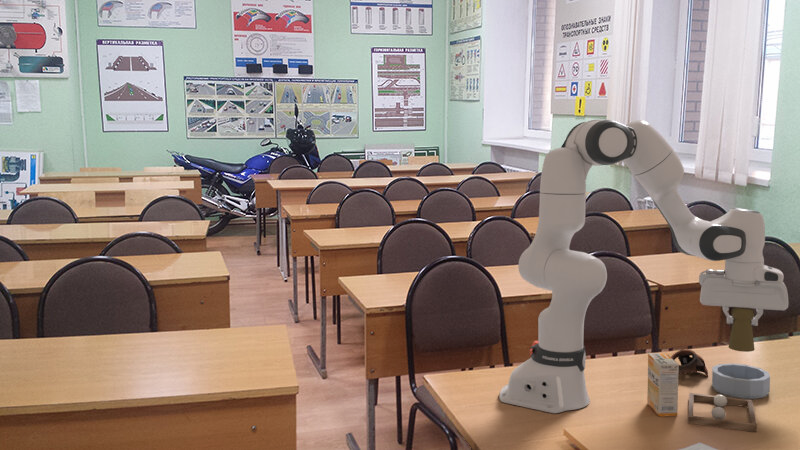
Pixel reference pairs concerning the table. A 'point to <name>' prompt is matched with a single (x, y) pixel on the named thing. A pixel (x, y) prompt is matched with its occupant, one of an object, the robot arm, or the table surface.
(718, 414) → the pebble
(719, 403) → the pebble
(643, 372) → the table surface
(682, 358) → the pottery mug
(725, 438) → the table surface
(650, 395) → the supplement box
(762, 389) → the bowl
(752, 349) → the cork
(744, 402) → the tray
